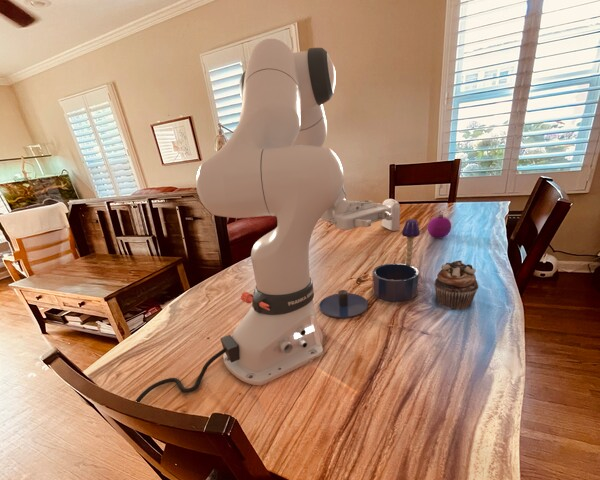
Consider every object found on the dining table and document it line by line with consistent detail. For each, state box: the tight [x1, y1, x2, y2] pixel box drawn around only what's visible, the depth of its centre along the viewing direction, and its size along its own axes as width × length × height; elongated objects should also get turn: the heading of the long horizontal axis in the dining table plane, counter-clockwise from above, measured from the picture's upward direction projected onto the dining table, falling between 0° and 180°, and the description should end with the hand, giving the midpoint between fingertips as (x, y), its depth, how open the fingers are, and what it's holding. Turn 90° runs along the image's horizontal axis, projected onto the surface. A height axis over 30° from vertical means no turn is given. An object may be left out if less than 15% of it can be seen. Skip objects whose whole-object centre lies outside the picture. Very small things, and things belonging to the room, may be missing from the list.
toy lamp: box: [401, 218, 421, 266], centre depth 89 cm, size 5×5×17 cm
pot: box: [371, 262, 420, 303], centre depth 83 cm, size 11×11×6 cm
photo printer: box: [381, 198, 401, 232], centre depth 135 cm, size 10×4×12 cm, turn 13°
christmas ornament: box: [427, 211, 452, 239], centre depth 118 cm, size 8×8×10 cm
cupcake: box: [434, 260, 480, 311], centre depth 75 cm, size 10×10×10 cm
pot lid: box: [318, 289, 369, 320], centre depth 79 cm, size 12×12×5 cm
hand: (380, 220), depth 95 cm, fingers open, 8 cm apart
